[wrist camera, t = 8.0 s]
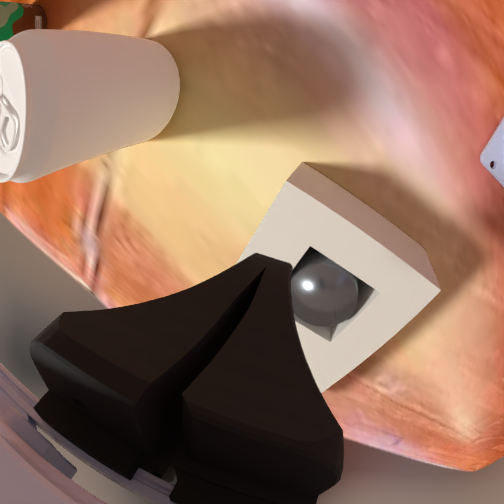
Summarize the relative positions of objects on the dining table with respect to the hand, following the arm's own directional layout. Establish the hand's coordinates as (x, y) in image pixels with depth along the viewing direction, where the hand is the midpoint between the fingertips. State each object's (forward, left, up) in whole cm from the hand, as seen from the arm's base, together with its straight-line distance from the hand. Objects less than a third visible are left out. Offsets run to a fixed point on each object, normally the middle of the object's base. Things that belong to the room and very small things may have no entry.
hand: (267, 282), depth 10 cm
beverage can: (+15, -1, -11) cm, 18 cm away
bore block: (-3, +7, -10) cm, 13 cm away
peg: (-3, +3, -10) cm, 11 cm away
